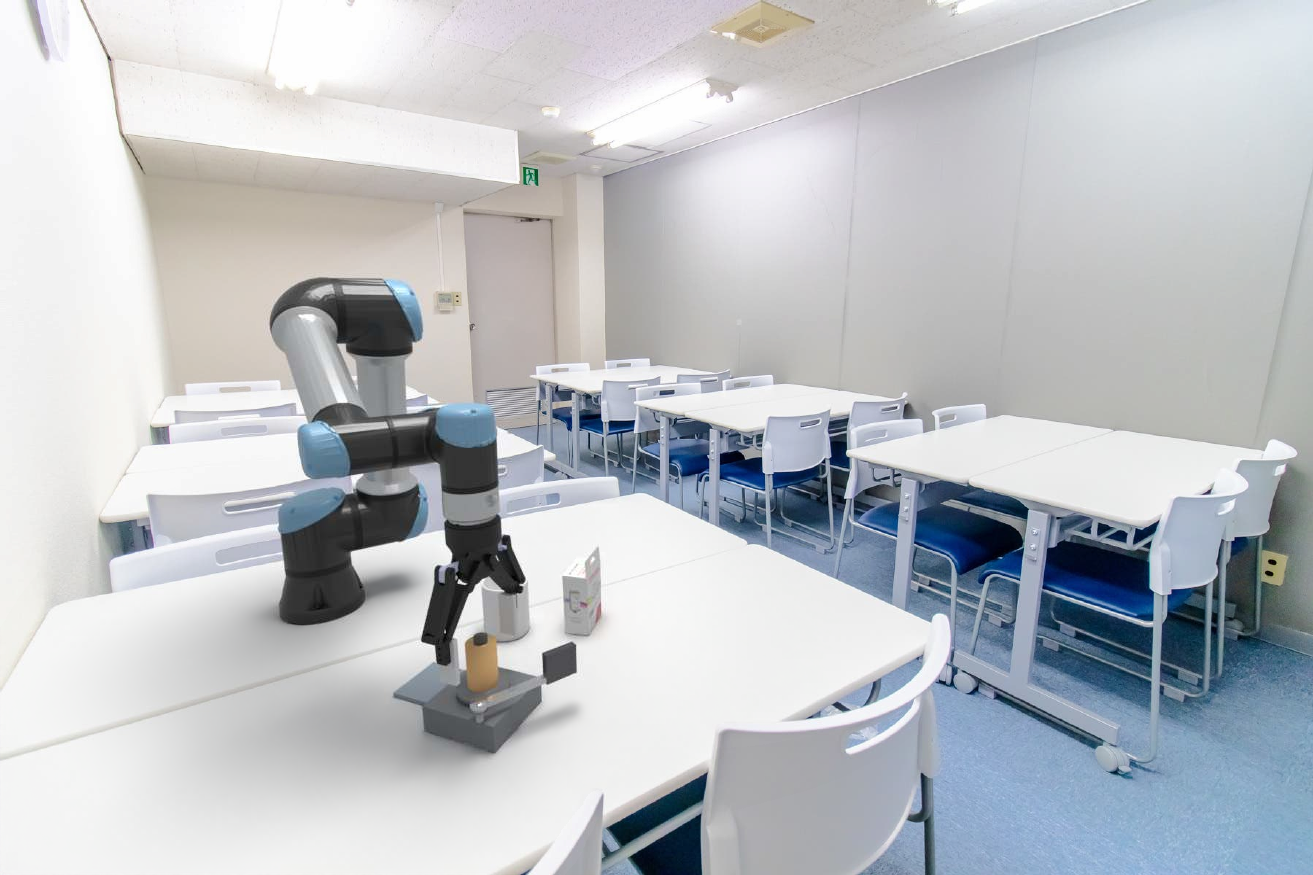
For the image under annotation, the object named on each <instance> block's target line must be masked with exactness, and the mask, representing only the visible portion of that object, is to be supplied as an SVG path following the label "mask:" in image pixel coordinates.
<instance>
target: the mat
mask: <svg viewBox="0 0 1313 875" xmlns="http://www.w3.org/2000/svg"><path fill="white" fill-rule="evenodd" d="M465 670H466V669H462V668H459V671H460V674H461V673H462V672H463V671H465ZM447 685H448V684H447V683H443V682H440V672H439V664H437V662H435V661H434V662H432V663H430V664H429V665H428V666H426V667H425V668H424V669H423V670H421V671H420V672H419V673H417V674H416V675H414V676H413V677H412V678H411V679H409V680H408V681H407V682H405V683H404V684H403V685H401V686H400V687H399V688H398V689H396V690H395V691H394V692H393V693H392V694H393V696H392V697H395V698H398V699H401V700H405V701H408V702H411V703H415V704H417V705H421V706H423V705H424V704H425V703H427V702H428V701H429V700H430V699H431V698H433V697H434V696H435V695H436V694H437V693H438V692H440V691H441V690H442V689H443V688H444V687H446V686H447Z"/></svg>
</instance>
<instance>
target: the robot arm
mask: <svg viewBox="0 0 1313 875" xmlns="http://www.w3.org/2000/svg"><path fill="white" fill-rule="evenodd" d="M269 330H270V331H269V332H270V334H271V337H272V341H273V343H274V344H275V346H276V347H277V348H278V349H279V350H280V352H282V353H284V355H285V357H286V360H287V363H288V365H289V369H290V373H291V376H292V378H293V382H294V385H295V388H296V391H297V393H298V396H299V399H300V400H299V401H300V403H301V406H302V410H303V411H304V414H305V418H306V421H307V423H305V424H302V425H300V426H299V427H298V429H297V433H296V434H297V437H296V438H297V447H298V454H299V455H298V456H299V458H300V464H301V468H302V471H303V473H304V475H305V476H306V477H307V478H309V479H311V480H321V479H333V478H337V479H340V478H345V477H351V476H357V475H361V474H362V476H360V477H359V478H358V480H356V482H355V491H356V492H352V493H346V492H345V491H344V490H343V489H342V488H340V487H334V486H333V487H322V488H317V489H316V488H315V489H313V490H308V491H305V492H301V493H300V494H297V495H294V496H292V497H290V498H289V499H287V500H285V501H284V502H283V503H282V504H281V505H280V506H279V508H278V512H277V519H278V520H277V521H278V526H277V530H278V533H279V534H280V542H281V551H282V558H283V567H284V573H285V579H284V582H283V587H282V592H281V598H280V600H279V603H278V610H279V615H280V618H281V620H283V621H284V620H285V622H286V621H287V623H289V624H293V623H297V624H296V625H311V624H312V625H313V624H318V623H319V624H320V623H323V622H324V623H325V622H330V621H333V620H336V619H339V618H342V617H344V616H346V615H349V614H351V613H352V612H354V611H355V610H358V608H360V607H361V606H362V605H363V604H364V603H365V601H366V591H365V586H364V584H363V583H362V581H361V579H360V576H359V575H358V573H357V571H356V569H355V567H354V565H353V562H352V552H356V551H359V550H365V549H370V548H374V547H378V546H383V545H389V544H394V543H397V542H398V543H403V542H405V541H406V540H409V539H413V538H417V537H419V536H420V535H421V534H422V533H424V531H425V529H426V527H427V522H428V518H429V503H428V494H427V493H428V492H427V490H426V488H425V486H424V485H423V484H422V483H421V482H418V478H417V477H416V476H415V475H414V474H413V473H412V472H410V467H416V466H424V465H429V464H435V463H436V464H438V465H439V472H440V482H441V483H440V485H441V503H442V506H441V507H442V516H443V518H444V519H446V520H445V521H444V523H443V526H444V527H443V528H444V540H445V545H446V547H447V548H448V549H449V551H450V553H451V561H450V563H448V564H447V565H441V564H437V565H436V566H435V567H434V571H433V578H434V579H433V587H432V590H431V591H432V592H431V595H430V600H429V603H428V607H427V608H428V609H427V613H426V616H425V621H424V625H423V629H422V633H421V638H420V641H421V643H423V644H427V645H431V646H434V650H435V661H436V663H437V664H439V672H440V682H443V683H447V684H451V685H454V686H457V685H459V684H460V671H459V669H460V660H459V648H458V647H459V646H458V645H459V644H458V638H454V635H455V633H456V630H457V627H458V624H459V622H460V618H461V616H462V613H463V612H464V608H465V605H466V602H467V600H468V597H469V595H470V594H472V593H473V592H474V589H475V587H476V585H479V584H480V583H481V582H482V581H483V579H485V578H487V577H490V578H491V579H492V580H493V581H494V582H495V583H496V584H497V585H498V586H499V587H500V588H501V589H502V590H504V592H500V593H499V594H498V600H499V617H500V633H504V634H509V635H513V636H516V635H517V634H518V624H517V593H519V594H521V593H522V592H523V586H519V585H520V584H524V582H525V576H524V574H525V573H524V572H523V570H522V567H521V564H520V562H519V560H518V558H517V556H516V554H515V551H514V549H513V547H512V538H511V535H509V534H505V533H502V532H503V531H502V516H500V515H499V513H500V511H501V504H500V502H501V501H500V490H499V486H500V485H499V484H500V482H499V462H498V461H499V460H498V441H497V440H498V439H497V438H498V437H497V436H498V428H497V426H496V416H495V411H494V409H493V407H491V406H490V405H489V404H486V403H477V402H459V403H457V402H456V403H452V404H446V405H443V406H441V407H434V406H432V407H426V408H423V409H421V410H419V411H418V412H413V413H412V412H411V413H408V412H407V389H406V388H407V385H406V384H407V382H406V362H405V361H406V360H407V359H408V358H410V356H411V355H412V354H413V352H414V351H413V347H414V346H413V343H417V342H420V341H421V340H423V333H424V322H423V317H422V311H421V307H420V304H419V301H418V298H417V296H416V294H415V291H414V290H413V288H412V287H411V285H409V284H408V283H406V282H405V281H402V280H400V279H388V278H384V277H383V278H378V277H377V278H376V277H375V278H374V277H373V278H372V277H370V278H368V277H364V278H363V277H361V278H360V277H359V278H358V277H355V278H354V277H353V278H352V277H351V278H350V277H325V276H324V277H323V276H322V277H321V276H320V277H319V276H318V277H313V278H308V279H306V280H303V281H299V282H298V283H296V284H294V285H292V286H291V287H289V288H288V289H287V290H286V291H284V292H283V293H282V295H280V296H279V297H278V299H277V301H275V303H274V304H273V308H272V309H271V311H270V316H269ZM338 344H339V345H342V344H343V345H345V351H346V352H345V353H346V354H347V355H349V356H350V357H351V358H352V359H354V360H355V369H356V382H357V386H356V384H355V382H354V379H353V377H352V374H351V373H350V370H349V368H348V365H347V363H346V361H345V360H344V359H345V358H344V357H343V354H342V352H341V349H340V346H339V345H338ZM459 581H460V582H462V583H463V584H462V583H459Z"/></svg>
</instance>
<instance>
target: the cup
mask: <svg viewBox="0 0 1313 875" xmlns="http://www.w3.org/2000/svg"><path fill="white" fill-rule="evenodd" d="M523 574H524V576H525V582H524V584H520V585H519V586H523V592H522V593H521V594H519V593H517V624H518V634H517V635H516V636H513V635H509V634H504V633H500V617H499V600H498V594H499V593H500V592H504V590H502V589H501V588H500V587H499V586H498V585H497V584H496V583H495V582H494V581H493V580H492V579H491V578H490V577H487V578H485V579H482V580H481V582H480V585H481V598H482V600H481V602H482V614H483V630H484V631H483V632H485V633H487V634H489V635H493V636H494V637H495V638H496V641H497V643H504V642H505V643H506V642H512V641H516V640H518V639H521V638H522V637H524V636H526V634H527V633H528V632H529V630H530V625H531V624H530V620H531V619H530V599H529V598H530V597H529V578H528V576H527V575H526V574H525V573H523Z"/></svg>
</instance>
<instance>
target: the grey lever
mask: <svg viewBox="0 0 1313 875" xmlns="http://www.w3.org/2000/svg"><path fill="white" fill-rule="evenodd" d="M541 656H542V658H541V659H542V674H540V675H537V677H535V678H533V679H530V680H528V681H525V682H523V683H520V684H518V685H516V686H513V687H511V688H508V689H506V690H503V691H501V692H498V693H496V694H494V695H491V696H489V697H476V698H474V699H472V700H471V702H470V712H471V714H473V715H481V714H484V713H486V712H487V711H488V709H489V707H491V706H493V705H495V704H498V703H500V702H503V701H505V700H507V699H510V698H512V697H514V696H517V695H519V694H522V693H524V692H526V691H529V690H531V689H533V688H536V687H538V686H541V687H542V686H543V685H547V686H548V685H551V684H553V683H555V682H558V681H560V680H562V679H565V678H567V677H569V676H572V675H575V674H576V673H577V672H578V670H577V669H578V667H577V666H578V665H577V663H578V662H577V644H575V643H574V642H573V641H569V642H566V643H564V644H562V645H560V646H555V647H554V648H551V649H548V650H546V651H543V652H542V653H541Z"/></svg>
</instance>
